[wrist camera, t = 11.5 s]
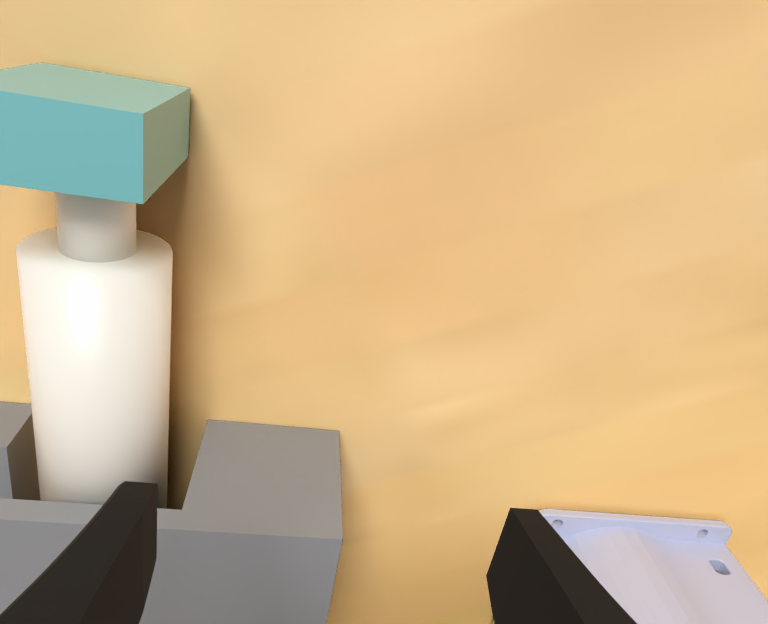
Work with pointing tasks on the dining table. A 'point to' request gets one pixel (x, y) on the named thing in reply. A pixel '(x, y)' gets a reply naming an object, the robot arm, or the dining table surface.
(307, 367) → the dining table surface
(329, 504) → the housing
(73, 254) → the cartridge
